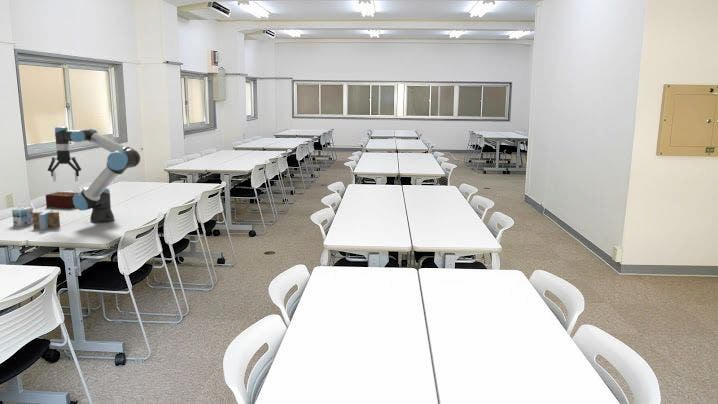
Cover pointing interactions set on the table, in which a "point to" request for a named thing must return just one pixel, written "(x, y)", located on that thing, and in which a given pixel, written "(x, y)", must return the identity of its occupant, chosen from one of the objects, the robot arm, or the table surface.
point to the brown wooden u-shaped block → (52, 221)
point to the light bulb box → (22, 216)
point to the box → (60, 200)
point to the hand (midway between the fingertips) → (65, 181)
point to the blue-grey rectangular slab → (44, 219)
